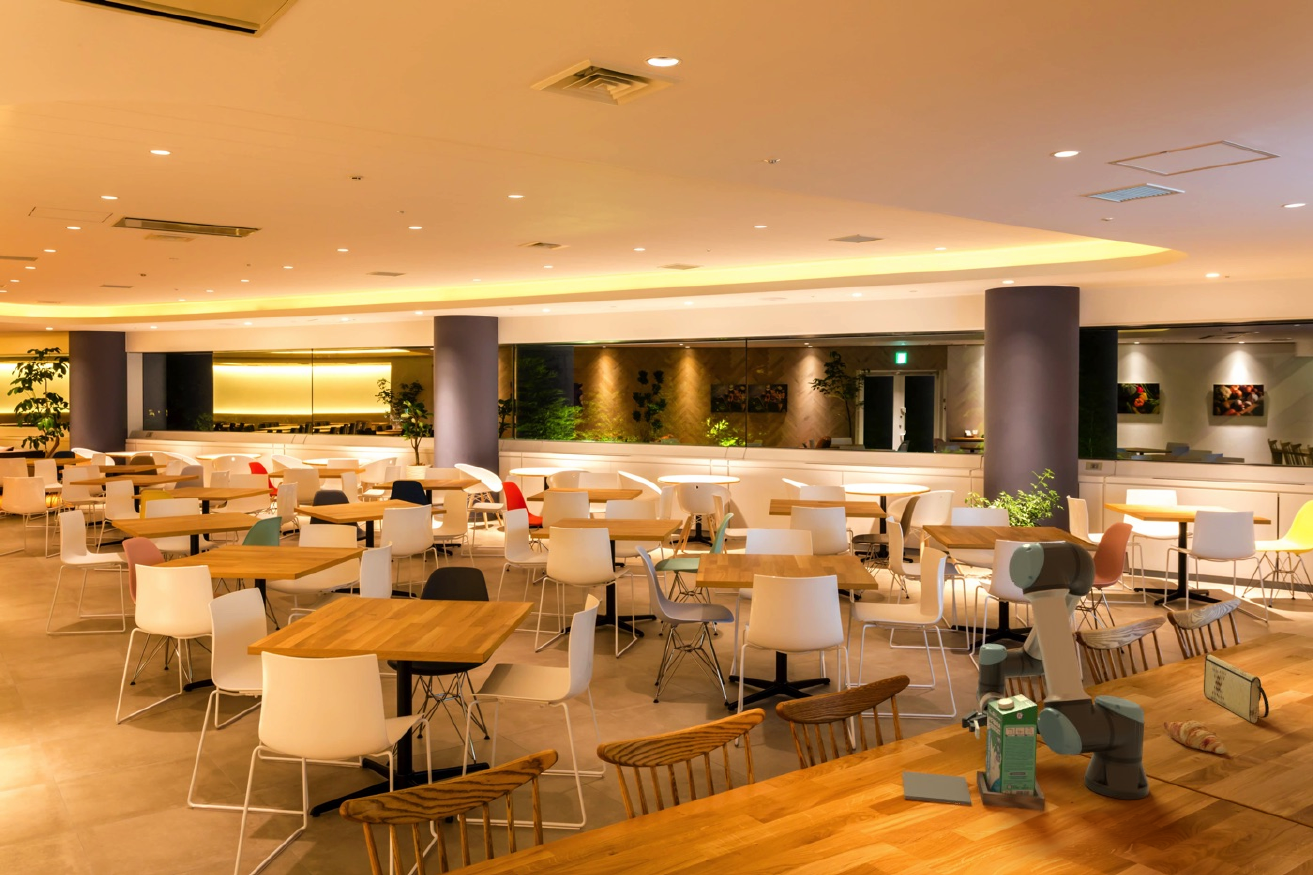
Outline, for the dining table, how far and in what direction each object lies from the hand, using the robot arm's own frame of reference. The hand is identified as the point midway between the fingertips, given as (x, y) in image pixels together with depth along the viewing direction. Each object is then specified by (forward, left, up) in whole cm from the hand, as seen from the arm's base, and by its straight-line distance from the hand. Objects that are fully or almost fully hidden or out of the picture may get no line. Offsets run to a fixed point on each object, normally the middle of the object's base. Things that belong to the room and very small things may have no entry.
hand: (1005, 736), depth 257 cm
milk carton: (0, +7, -13) cm, 15 cm away
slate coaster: (+18, +7, -13) cm, 23 cm away
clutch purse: (-82, -82, -13) cm, 117 cm away
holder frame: (0, +7, -13) cm, 15 cm away
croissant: (-59, -45, -13) cm, 75 cm away
